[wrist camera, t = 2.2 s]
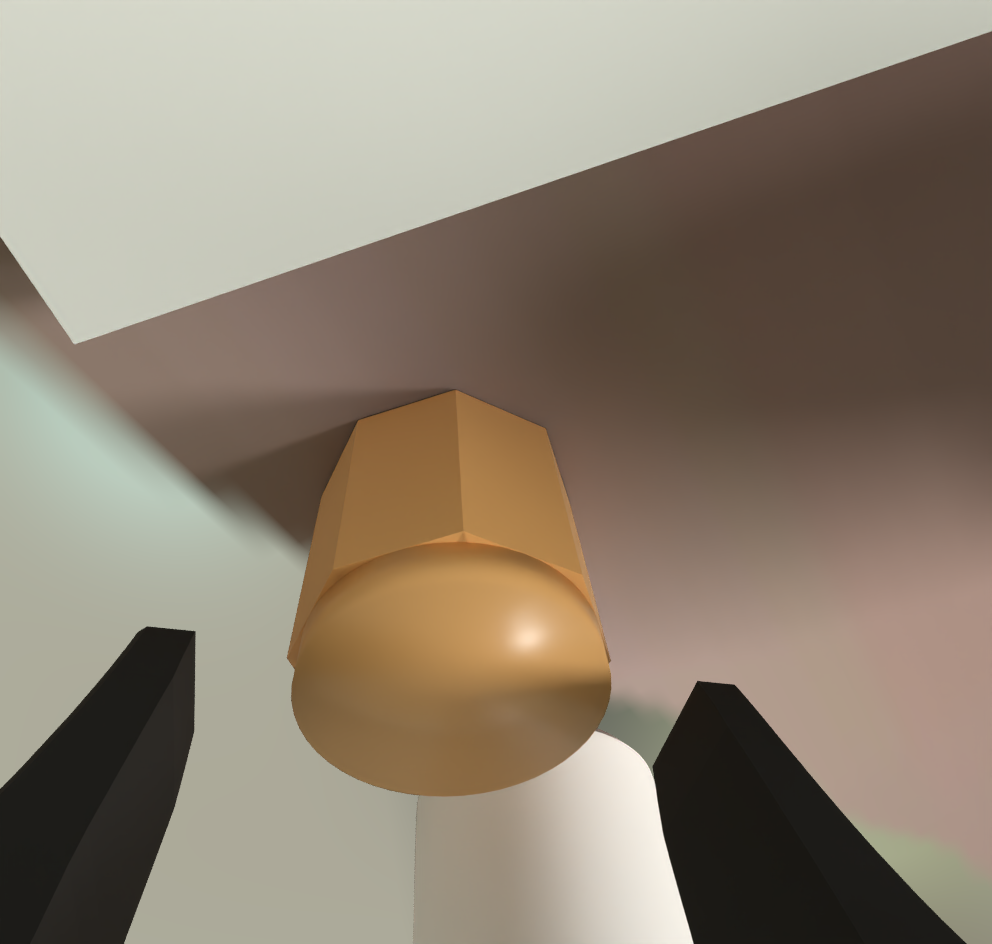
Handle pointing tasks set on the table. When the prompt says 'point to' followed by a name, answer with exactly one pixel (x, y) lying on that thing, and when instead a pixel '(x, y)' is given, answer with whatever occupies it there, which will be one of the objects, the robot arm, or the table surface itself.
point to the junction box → (364, 119)
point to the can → (550, 859)
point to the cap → (447, 606)
